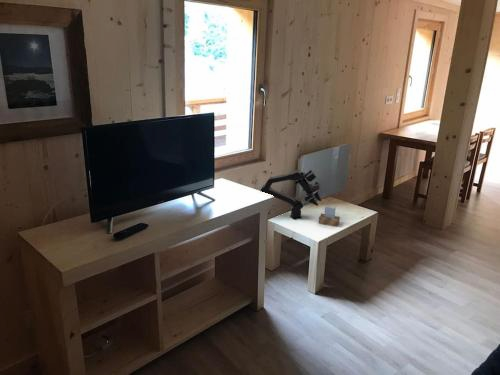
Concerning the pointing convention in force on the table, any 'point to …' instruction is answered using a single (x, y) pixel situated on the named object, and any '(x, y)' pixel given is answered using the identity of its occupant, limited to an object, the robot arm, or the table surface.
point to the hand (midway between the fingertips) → (319, 203)
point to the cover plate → (330, 212)
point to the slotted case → (329, 220)
